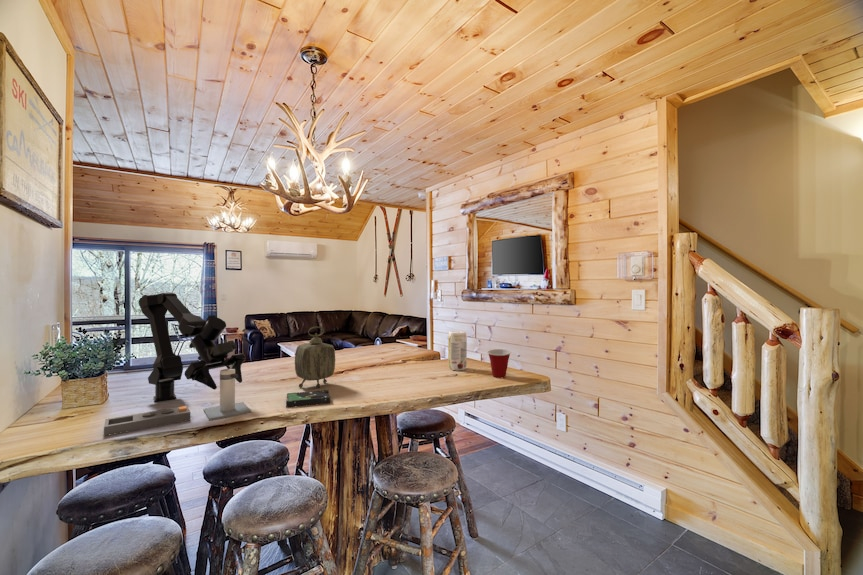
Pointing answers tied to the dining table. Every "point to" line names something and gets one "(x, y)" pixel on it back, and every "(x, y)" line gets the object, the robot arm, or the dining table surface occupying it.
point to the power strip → (146, 420)
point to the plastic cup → (499, 362)
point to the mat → (217, 414)
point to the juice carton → (457, 350)
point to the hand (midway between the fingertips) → (228, 385)
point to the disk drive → (307, 398)
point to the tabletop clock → (314, 360)
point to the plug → (227, 390)
